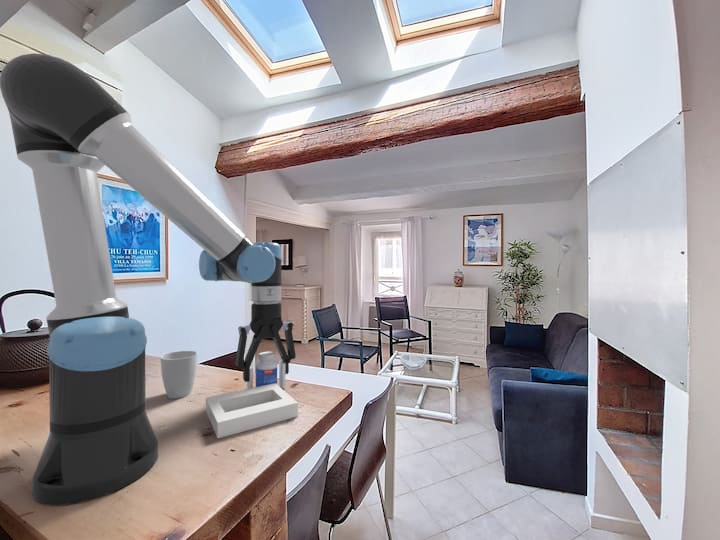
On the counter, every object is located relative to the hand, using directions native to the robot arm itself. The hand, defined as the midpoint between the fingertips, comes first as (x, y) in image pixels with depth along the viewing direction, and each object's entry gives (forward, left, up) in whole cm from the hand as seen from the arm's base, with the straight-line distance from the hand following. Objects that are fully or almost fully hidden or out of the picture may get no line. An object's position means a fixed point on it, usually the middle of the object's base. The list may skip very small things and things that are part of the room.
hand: (266, 389), depth 83 cm
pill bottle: (0, 0, 0) cm, 0 cm away
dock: (-7, -8, 0) cm, 11 cm away
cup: (-19, +10, 0) cm, 21 cm away
